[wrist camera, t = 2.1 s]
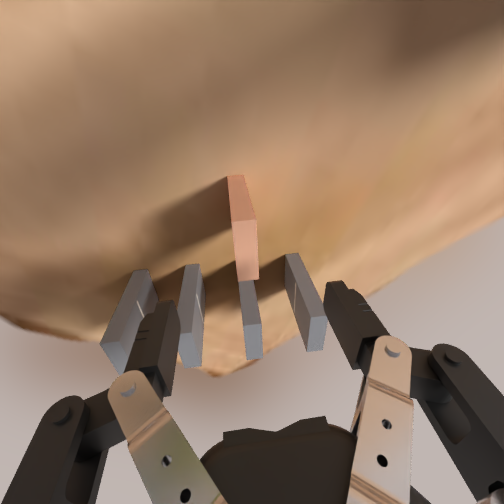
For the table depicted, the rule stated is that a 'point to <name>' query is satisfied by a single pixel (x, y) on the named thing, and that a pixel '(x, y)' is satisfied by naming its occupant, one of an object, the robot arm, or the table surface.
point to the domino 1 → (129, 318)
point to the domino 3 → (243, 229)
